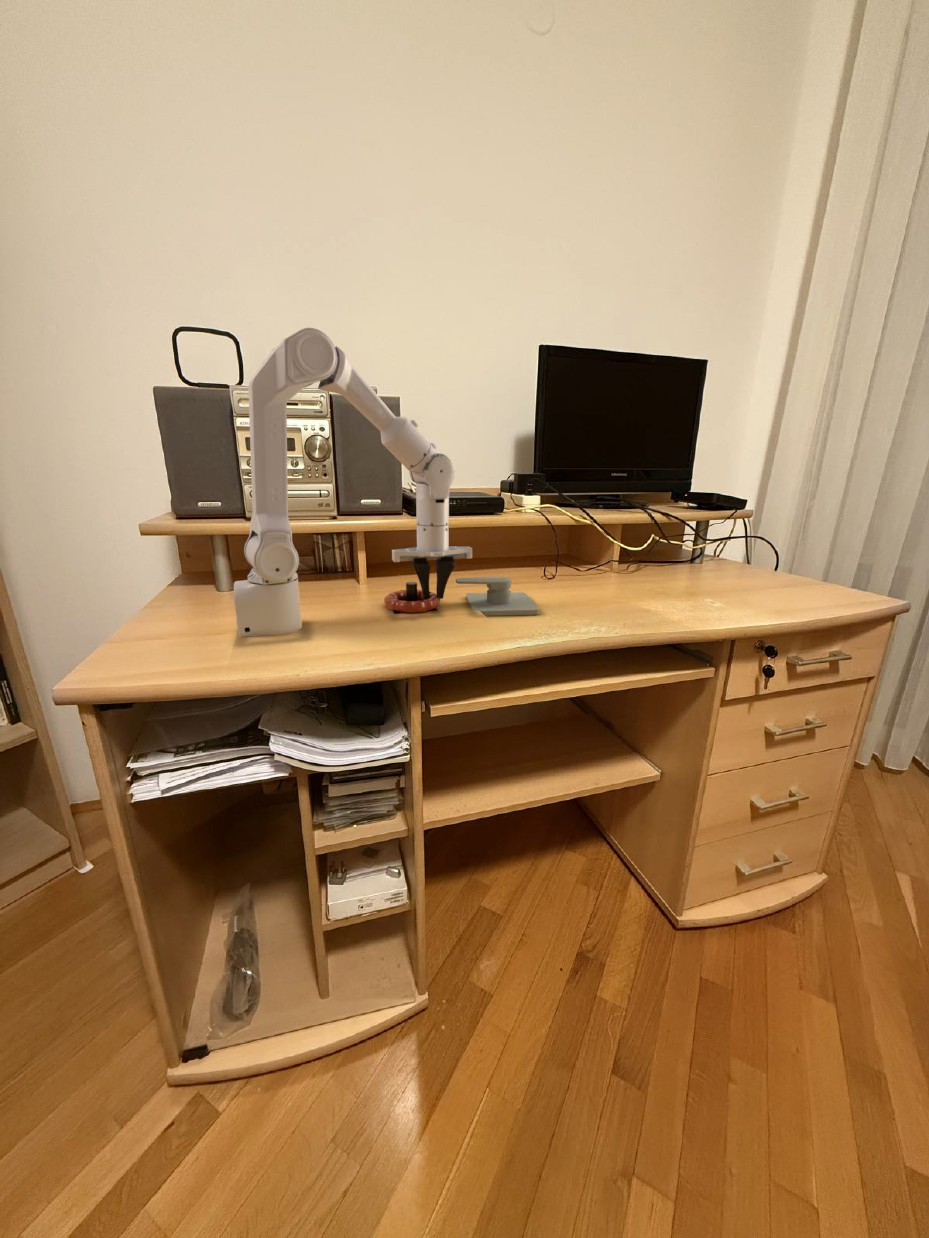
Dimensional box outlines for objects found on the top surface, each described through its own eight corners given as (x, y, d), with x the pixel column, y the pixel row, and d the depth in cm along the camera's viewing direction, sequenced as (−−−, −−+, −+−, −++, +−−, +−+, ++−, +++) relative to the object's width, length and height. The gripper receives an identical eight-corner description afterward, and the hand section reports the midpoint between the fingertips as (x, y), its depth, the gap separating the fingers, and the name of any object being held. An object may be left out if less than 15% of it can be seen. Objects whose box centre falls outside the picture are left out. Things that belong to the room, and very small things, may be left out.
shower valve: (452, 571, 98) (525, 570, 100) (452, 597, 100) (524, 596, 101) (459, 587, 86) (542, 585, 88) (459, 616, 88) (540, 614, 90)
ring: (390, 616, 84) (390, 604, 84) (380, 600, 93) (380, 590, 93) (446, 611, 87) (446, 600, 87) (431, 596, 96) (431, 587, 96)
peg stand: (394, 619, 86) (393, 590, 84) (386, 606, 93) (385, 579, 91) (438, 615, 88) (438, 587, 87) (427, 603, 95) (427, 577, 94)
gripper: (396, 528, 81) (398, 606, 85) (478, 526, 85) (476, 600, 90) (388, 523, 87) (391, 596, 92) (465, 521, 92) (464, 591, 96)
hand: (433, 597), depth 91 cm, fingers closed on ring, 2 cm apart
